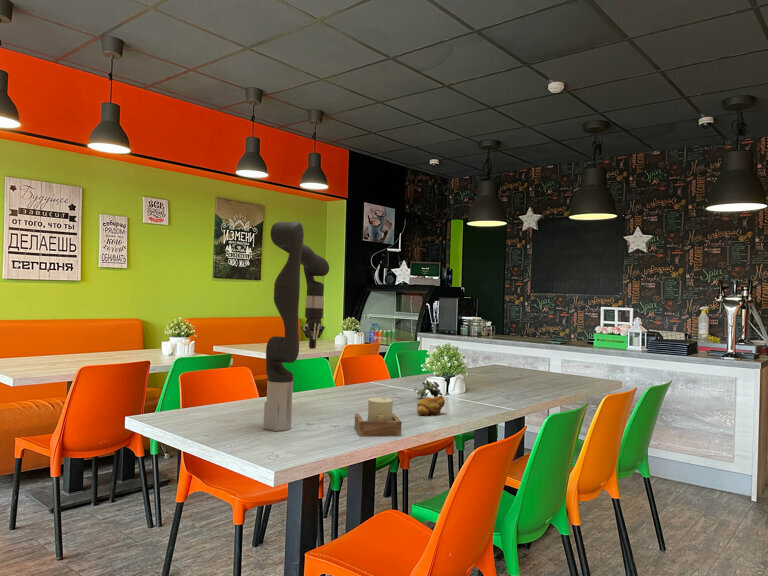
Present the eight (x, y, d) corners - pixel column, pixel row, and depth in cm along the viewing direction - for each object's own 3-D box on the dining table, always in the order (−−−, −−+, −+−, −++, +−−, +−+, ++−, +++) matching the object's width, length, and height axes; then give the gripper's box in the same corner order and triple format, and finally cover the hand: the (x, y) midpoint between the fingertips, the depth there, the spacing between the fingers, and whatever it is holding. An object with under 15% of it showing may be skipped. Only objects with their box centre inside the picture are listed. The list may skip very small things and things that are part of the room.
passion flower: (434, 410, 271) (448, 392, 267) (419, 408, 264) (433, 390, 260) (423, 394, 279) (436, 376, 275) (408, 392, 272) (421, 374, 268)
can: (395, 430, 205) (396, 397, 206) (386, 435, 197) (387, 401, 197) (372, 427, 209) (374, 395, 209) (362, 432, 200) (364, 399, 201)
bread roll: (424, 417, 229) (425, 398, 229) (409, 413, 236) (409, 394, 237) (446, 414, 237) (447, 396, 237) (431, 410, 244) (431, 392, 244)
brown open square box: (401, 435, 197) (401, 416, 197) (359, 436, 194) (360, 416, 194) (393, 426, 210) (394, 408, 210) (354, 427, 208) (355, 408, 208)
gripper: (311, 307, 223) (309, 350, 222) (331, 307, 234) (329, 348, 233) (297, 306, 227) (295, 348, 226) (317, 306, 238) (315, 347, 237)
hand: (312, 348), depth 230 cm, fingers closed
